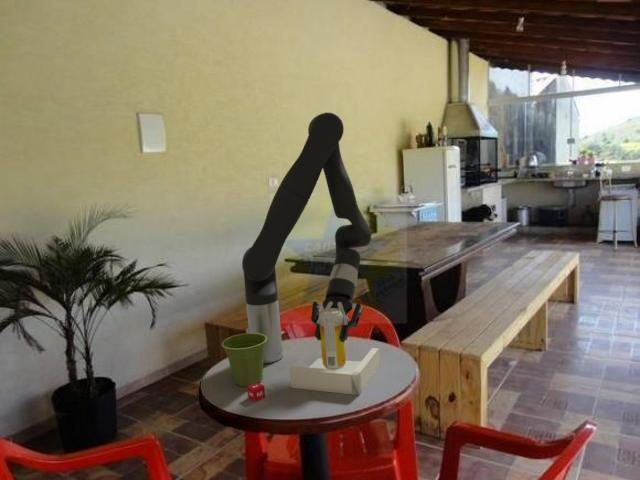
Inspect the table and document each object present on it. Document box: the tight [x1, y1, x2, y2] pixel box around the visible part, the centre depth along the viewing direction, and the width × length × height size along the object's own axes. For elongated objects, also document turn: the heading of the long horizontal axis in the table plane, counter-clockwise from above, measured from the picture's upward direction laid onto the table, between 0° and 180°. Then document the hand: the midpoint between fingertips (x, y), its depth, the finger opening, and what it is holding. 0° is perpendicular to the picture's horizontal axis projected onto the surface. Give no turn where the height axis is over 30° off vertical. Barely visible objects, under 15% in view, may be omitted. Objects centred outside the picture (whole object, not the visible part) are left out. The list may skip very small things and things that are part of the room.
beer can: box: [319, 308, 347, 370], centre depth 131 cm, size 6×6×15 cm
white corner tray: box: [289, 347, 381, 396], centre depth 131 cm, size 18×18×5 cm
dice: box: [246, 382, 266, 402], centre depth 122 cm, size 3×3×3 cm
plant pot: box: [221, 332, 267, 387], centre depth 132 cm, size 12×12×11 cm
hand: (330, 339), depth 130 cm, fingers closed on beer can, 6 cm apart
